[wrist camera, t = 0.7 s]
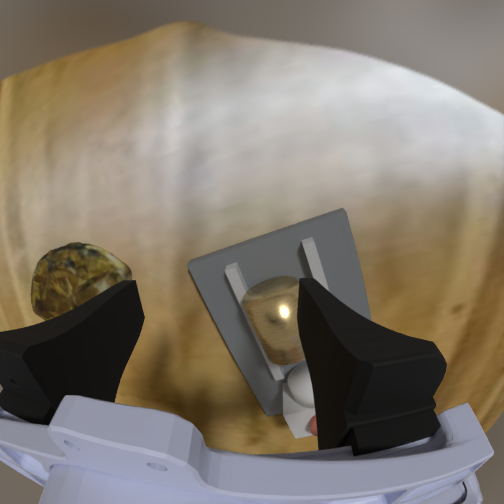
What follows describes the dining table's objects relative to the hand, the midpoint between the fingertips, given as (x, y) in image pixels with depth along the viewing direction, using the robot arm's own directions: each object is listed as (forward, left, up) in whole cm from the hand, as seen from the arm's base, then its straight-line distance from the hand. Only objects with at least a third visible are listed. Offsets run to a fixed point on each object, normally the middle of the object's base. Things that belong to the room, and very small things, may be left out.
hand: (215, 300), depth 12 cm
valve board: (-10, -2, -10) cm, 14 cm away
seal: (0, +17, -10) cm, 20 cm away
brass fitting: (-6, -2, -8) cm, 11 cm away
